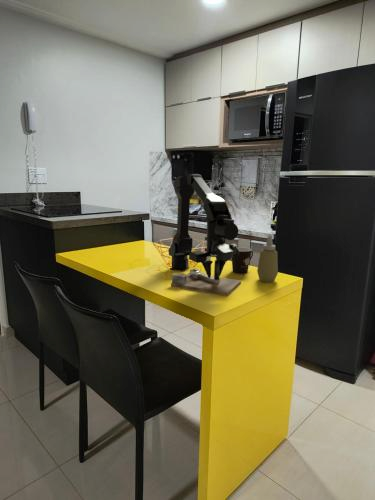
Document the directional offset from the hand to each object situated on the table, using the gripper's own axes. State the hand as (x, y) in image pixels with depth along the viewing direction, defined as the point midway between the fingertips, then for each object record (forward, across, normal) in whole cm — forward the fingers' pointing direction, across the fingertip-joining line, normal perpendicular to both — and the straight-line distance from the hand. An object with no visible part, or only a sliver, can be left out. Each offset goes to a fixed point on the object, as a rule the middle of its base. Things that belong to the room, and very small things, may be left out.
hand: (214, 276), depth 125 cm
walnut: (+3, -9, +8) cm, 12 cm away
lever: (+2, -1, +6) cm, 7 cm away
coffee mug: (+5, +23, +11) cm, 26 cm away
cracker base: (+4, -1, +3) cm, 5 cm away
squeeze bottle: (+5, +24, -3) cm, 24 cm away
